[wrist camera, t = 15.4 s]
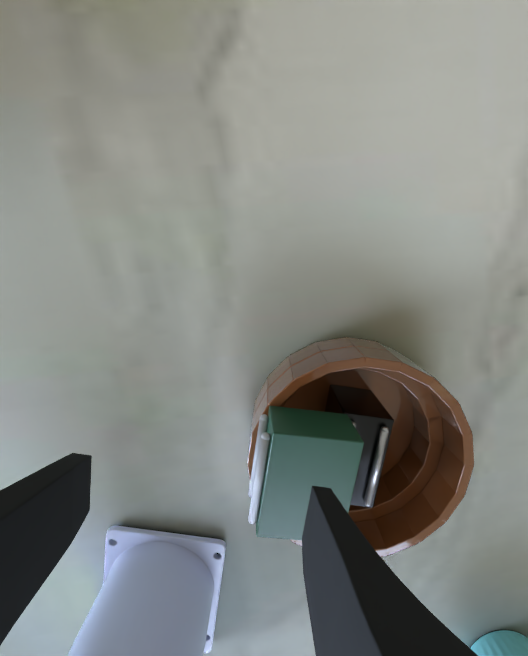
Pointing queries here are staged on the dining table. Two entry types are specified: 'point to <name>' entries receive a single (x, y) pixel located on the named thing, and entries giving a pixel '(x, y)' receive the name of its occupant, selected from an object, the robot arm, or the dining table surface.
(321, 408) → the bowl
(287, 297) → the dining table surface
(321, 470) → the green clip
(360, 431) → the black clip
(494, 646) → the cupcake
